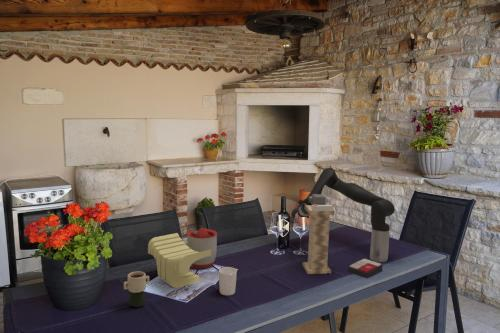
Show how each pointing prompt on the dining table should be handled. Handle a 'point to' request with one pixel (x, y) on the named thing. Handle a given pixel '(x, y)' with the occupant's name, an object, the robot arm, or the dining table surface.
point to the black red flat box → (365, 268)
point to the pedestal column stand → (318, 241)
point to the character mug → (136, 288)
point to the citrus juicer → (203, 246)
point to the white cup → (227, 280)
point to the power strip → (322, 207)
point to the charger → (317, 199)
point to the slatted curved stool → (175, 259)
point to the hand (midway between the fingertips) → (314, 199)
